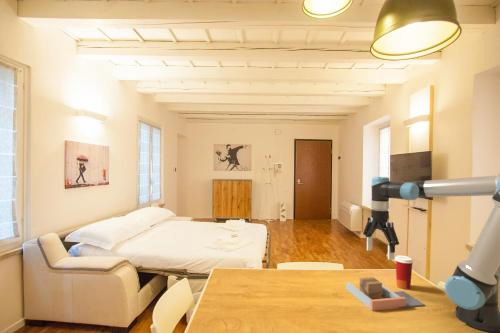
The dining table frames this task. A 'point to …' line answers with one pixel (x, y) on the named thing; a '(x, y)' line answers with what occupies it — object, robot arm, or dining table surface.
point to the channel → (378, 304)
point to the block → (371, 287)
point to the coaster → (407, 299)
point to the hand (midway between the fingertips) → (379, 254)
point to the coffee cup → (403, 271)
